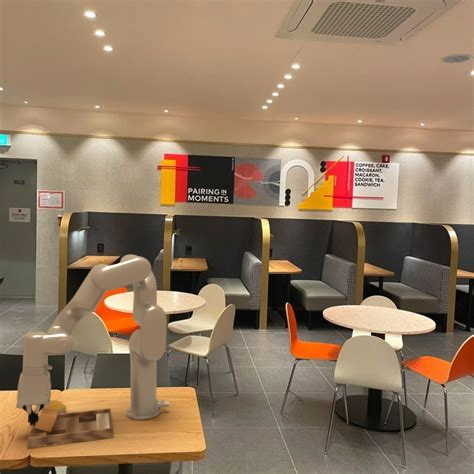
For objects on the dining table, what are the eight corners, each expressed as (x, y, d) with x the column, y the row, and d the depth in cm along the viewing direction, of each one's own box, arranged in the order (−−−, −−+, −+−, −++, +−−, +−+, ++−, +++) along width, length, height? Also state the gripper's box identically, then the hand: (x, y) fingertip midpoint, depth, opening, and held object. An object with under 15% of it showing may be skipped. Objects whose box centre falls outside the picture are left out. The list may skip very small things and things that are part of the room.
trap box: (110, 416, 172) (110, 408, 172) (112, 437, 156) (112, 428, 156) (33, 425, 165) (33, 416, 164) (27, 448, 148) (27, 438, 148)
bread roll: (47, 419, 170) (47, 409, 170) (39, 411, 177) (39, 401, 176) (70, 413, 175) (70, 403, 175) (61, 406, 182) (61, 395, 182)
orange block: (52, 425, 160) (57, 411, 161) (50, 432, 156) (56, 417, 156) (37, 421, 159) (43, 407, 159) (35, 428, 154) (41, 413, 154)
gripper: (59, 365, 162) (57, 418, 162) (12, 367, 157) (10, 421, 158) (58, 372, 154) (56, 427, 155) (8, 374, 150) (6, 431, 150)
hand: (32, 424), depth 156 cm, fingers closed
